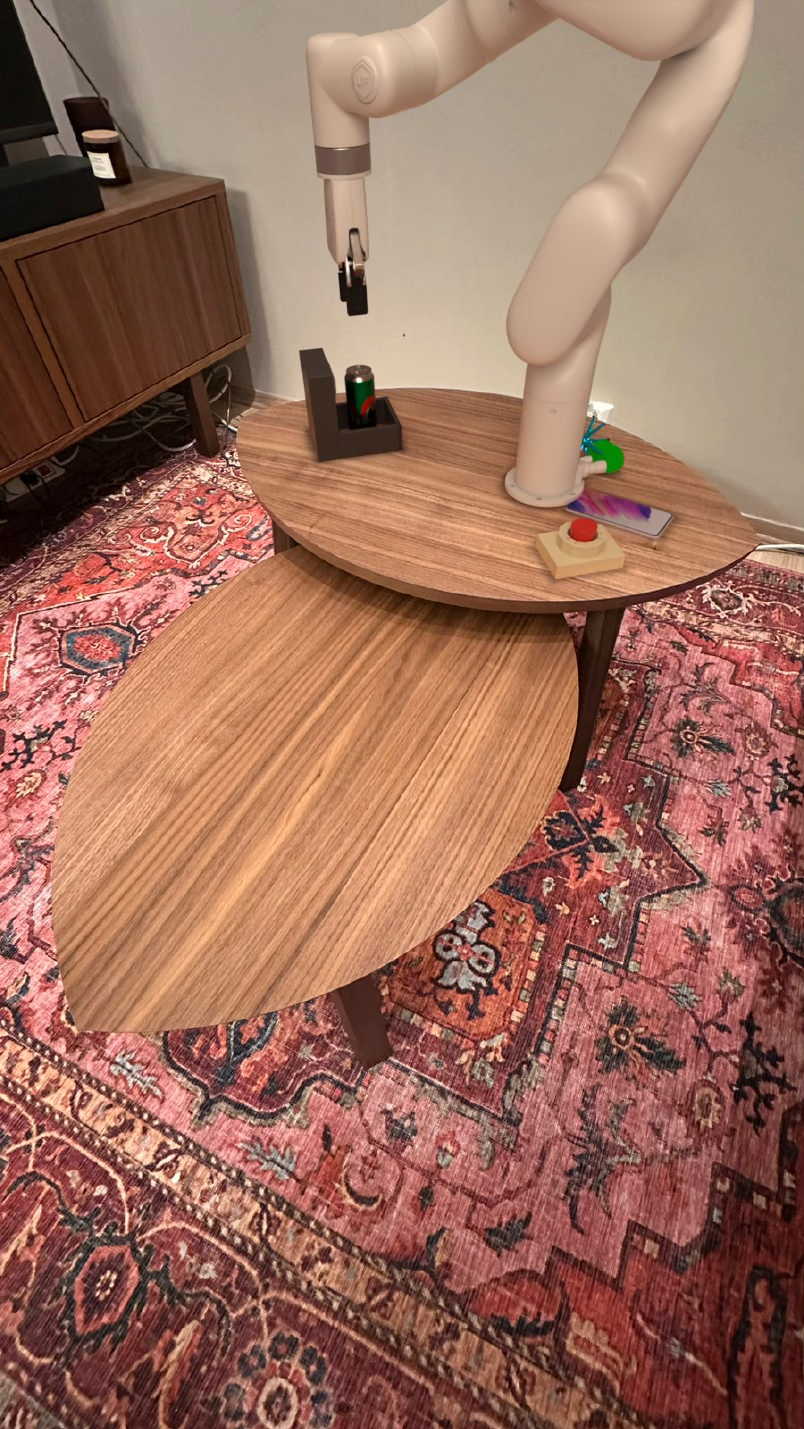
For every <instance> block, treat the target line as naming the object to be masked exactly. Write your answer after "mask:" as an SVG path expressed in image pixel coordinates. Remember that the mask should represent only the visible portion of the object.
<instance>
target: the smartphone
mask: <svg viewBox="0 0 804 1429" xmlns="http://www.w3.org/2000/svg"><path fill="white" fill-rule="evenodd" d="M564 510H565V511H567V512H569V513H572V514H575V515H578V516H580V517H581V516H582V517H583V518H588V519H591V520H593V521H596V522H600V523H602V524H607V525H610V526H613V527H615V528H618V529H622V530H625V531H629V532H631V533H633V534H634V533H635V534H638V535H641V536H644V537H647V538H651V539H653V540H654V539H656V540H657V539H659V538H660V537H661V536H662V535H663V533H664V532H665V531H666V529H667V528H668V527H669V526H670V525H671V523H672V521H673V520H674V517H675V516H674V514H673V513H672V512H669V511H666V510H662V509H659V508H655V507H652V506H649V505H646V504H642V503H639V502H636V501H632V500H628V499H625V498H622V497H619V496H615V495H611V494H609V493H605V492H602V491H599V490H595V489H593V488H592V489H591V488H589V487H584V490H583V493H582V494H581V496H580V497H579V498H578V499H576V500H575V501H573V502H571V503H569V504H567V505H565V509H564Z"/></svg>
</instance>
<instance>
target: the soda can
mask: <svg viewBox="0 0 804 1429" xmlns="http://www.w3.org/2000/svg"><path fill="white" fill-rule="evenodd" d="M343 380H344V391H345V402H346V404H347V416H348V427H349V428H348V430H354V429H361V428H369V427H376V426H378V424H377V415H376V398H377V396H376V384H375V383H376V382H375V374H374V372H373V370H372V367H370V366H369V365H367V364H354V365H351V366H349V367H347V368H346V369H345V374H344V376H343Z"/></svg>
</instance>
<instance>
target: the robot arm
mask: <svg viewBox="0 0 804 1429" xmlns="http://www.w3.org/2000/svg"><path fill="white" fill-rule="evenodd" d="M755 11H756V10H755V0H446V1H445V2H444V3H442V4H440V5H439V6H438V7H437V8H435V9H434V10H433V11H431V12H430V13H428V14H426V16H424V17H422V18H421V19H419V20H418V21H416V22H415V23H414V24H412V25H410V26H406V27H400V28H399V27H398V28H393V29H387V30H383V31H380V32H374V33H370V34H369V33H368V34H365V35H359V34H357V33H356V32H355V33H354V32H350V31H349V32H348V31H333V32H332V31H331V32H321V33H318V34H314V35H312V36H310V37H309V39H307V42H306V45H305V63H306V64H305V65H306V73H307V82H308V83H307V84H308V96H309V104H310V105H309V106H310V115H311V123H312V124H311V126H312V135H313V137H312V138H313V144H314V155H315V157H314V158H315V167H316V176H317V177H318V178H320V179H323V197H324V198H323V199H324V213H325V214H324V215H325V228H326V229H325V230H326V243H327V244H326V245H327V249H328V252H329V254H330V256H331V257H332V259H333V262H335V263H336V265H337V268H338V272H337V278H338V288H339V290H338V291H339V300H340V302H342V303H346V313H347V316H348V317H356V316H365V315H368V314H369V299H368V284H367V278H366V268H365V263H366V262H367V261H368V260H369V258H370V241H369V239H370V238H369V221H368V208H367V207H368V206H367V194H366V193H367V192H366V182H365V177H368V176H370V175H371V174H372V172H373V171H372V156H371V155H372V154H371V132H370V118H371V119H383V118H388V117H390V116H394V115H398V114H400V113H402V112H406V111H408V110H409V111H410V110H412V109H416V108H418V107H419V108H420V107H422V106H423V105H426V104H428V103H429V102H432V101H433V100H435V99H437V98H438V97H440V96H441V95H443V94H444V93H446V92H448V91H449V90H451V89H452V88H454V87H456V86H457V85H459V84H461V83H462V82H464V81H466V80H467V79H469V78H470V77H471V76H473V75H475V74H476V73H477V72H479V71H480V70H482V69H483V68H485V66H487V65H488V64H492V63H493V62H494V61H496V60H497V58H499V57H500V56H502V55H503V54H505V53H506V52H508V51H510V50H512V49H513V48H514V47H516V46H518V45H519V44H521V43H522V42H524V41H526V39H528V38H529V37H531V36H533V35H534V34H536V33H538V32H539V31H541V30H542V29H544V28H546V27H547V26H549V25H551V24H552V23H554V22H555V21H557V20H559V19H560V20H562V21H564V22H565V23H567V24H569V25H570V26H573V27H575V28H576V29H579V30H580V31H582V32H584V33H586V34H587V35H589V36H591V37H593V38H595V39H596V40H598V41H601V42H602V43H604V44H606V45H607V46H609V47H611V48H613V49H615V50H616V51H618V52H620V53H622V54H624V55H626V56H629V57H631V58H633V59H636V60H640V61H644V62H659V61H660V63H659V66H658V68H657V70H656V73H655V75H654V77H653V79H652V80H651V82H650V84H649V86H648V87H647V88H646V91H645V92H644V93H643V95H642V97H641V98H640V100H639V101H638V103H637V105H636V106H635V108H634V110H633V112H632V114H631V115H630V117H629V120H628V122H627V124H626V126H625V128H624V130H623V132H622V134H621V135H620V137H619V139H618V141H617V143H616V145H615V146H614V148H613V150H612V152H611V153H610V155H609V157H608V159H607V160H606V162H605V163H604V165H603V167H602V169H601V170H600V171H599V172H598V173H597V174H596V175H595V176H593V178H591V179H589V180H587V182H585V183H583V184H581V185H580V186H579V187H578V188H577V189H575V190H574V191H572V193H571V194H570V195H568V197H567V198H566V199H565V200H564V201H563V202H562V204H561V205H560V207H559V208H558V210H557V211H556V213H555V214H554V216H553V218H552V219H551V221H550V223H549V225H548V226H547V229H546V230H545V233H544V234H543V237H542V238H541V240H540V242H539V244H538V246H537V248H536V250H535V251H534V254H533V256H532V259H531V260H530V262H529V264H528V267H527V268H526V270H525V272H524V274H523V276H522V278H521V280H520V281H519V284H518V286H517V288H516V290H515V292H514V294H513V296H512V299H511V301H510V304H509V307H508V309H507V314H506V323H505V324H506V325H505V331H506V337H507V341H508V344H509V346H510V348H511V350H512V352H513V353H514V355H515V356H516V357H517V358H518V359H520V360H521V361H522V362H524V363H526V369H525V377H524V386H523V395H522V406H521V415H520V422H519V434H518V445H517V453H516V464H515V466H514V467H513V468H511V469H510V470H509V471H508V472H507V473H506V475H505V478H504V484H503V485H504V489H505V491H506V493H507V494H508V496H510V497H511V498H512V499H514V500H515V501H517V502H518V503H521V504H524V505H527V506H530V507H531V506H532V507H536V508H560V507H563V506H567V505H568V504H569V503H571V502H573V501H575V500H576V499H578V498H579V497H580V496H581V494H582V493H583V490H584V488H585V484H586V483H585V478H588V476H589V475H599V474H606V473H605V472H606V469H607V464H606V462H605V460H601V461H594V462H592V456H586V455H585V456H581V452H582V450H581V445H582V440H583V434H584V435H585V429H586V422H587V416H588V411H589V405H590V400H591V394H592V390H593V384H594V378H595V372H596V369H597V368H596V367H597V364H598V358H599V354H600V350H601V346H602V342H603V339H604V336H605V331H606V328H607V325H608V322H609V316H610V311H611V306H612V296H613V295H612V286H611V285H612V284H613V282H614V281H615V279H616V278H617V276H618V275H619V273H620V272H621V271H622V269H623V268H624V267H625V266H627V264H629V263H630V262H631V261H632V260H633V259H635V257H636V256H638V255H639V253H641V251H642V250H643V249H644V248H645V247H646V245H647V244H648V242H649V240H650V239H651V237H652V235H653V233H654V231H655V229H656V228H657V226H658V224H659V222H660V221H661V219H662V217H663V215H664V214H665V212H666V210H667V209H668V207H669V205H670V204H671V202H672V201H673V199H674V198H675V196H676V194H677V193H678V191H679V190H680V188H681V186H682V184H683V183H684V181H685V179H686V178H687V176H688V175H689V173H690V172H691V169H692V168H693V166H694V164H695V163H696V161H697V159H698V157H699V156H700V154H701V152H702V151H703V148H704V147H705V145H706V144H707V142H708V140H709V139H710V137H711V135H712V134H713V132H714V131H715V129H716V128H717V126H718V124H719V123H720V120H721V118H722V117H723V115H724V113H725V112H726V110H727V108H728V106H729V104H730V102H731V100H732V98H733V96H734V94H735V92H736V90H737V87H738V85H739V82H740V80H741V77H742V75H743V72H744V70H745V67H746V63H747V59H748V56H749V54H750V53H749V52H750V49H751V45H752V44H751V43H752V39H753V32H754V24H755V14H756V13H755ZM580 451H581V452H580Z"/></svg>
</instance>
